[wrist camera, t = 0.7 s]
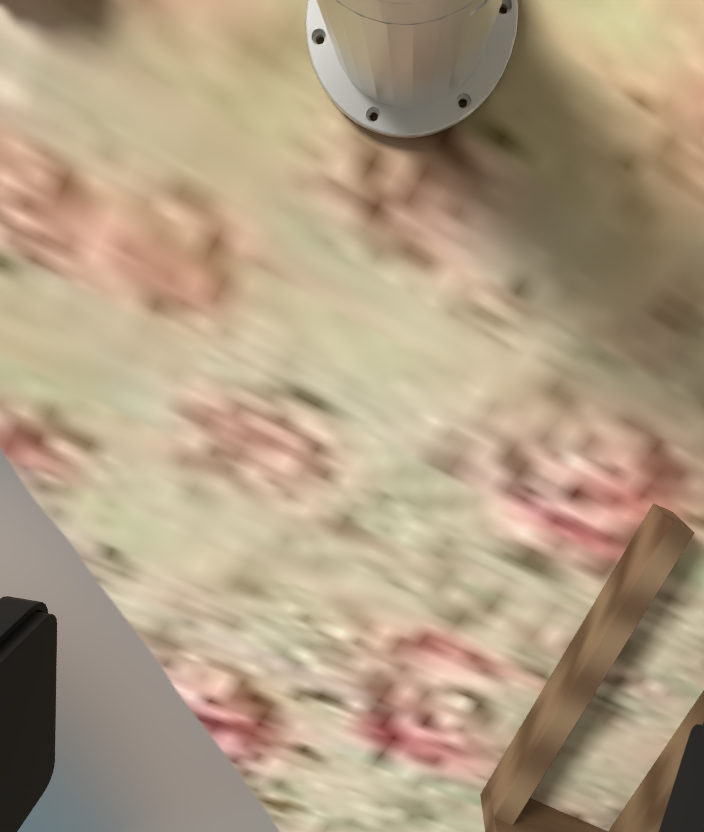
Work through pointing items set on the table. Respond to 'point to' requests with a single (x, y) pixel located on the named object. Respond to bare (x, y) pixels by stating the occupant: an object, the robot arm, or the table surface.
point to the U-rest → (575, 686)
